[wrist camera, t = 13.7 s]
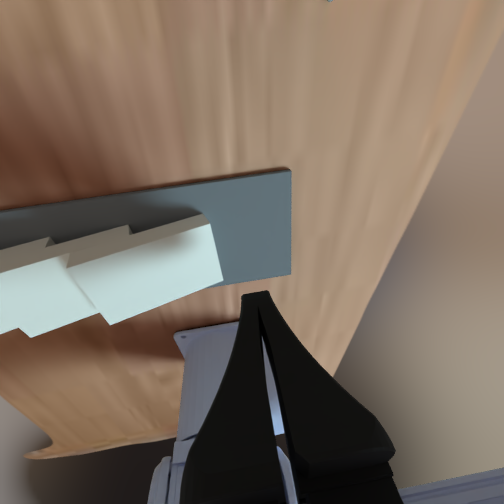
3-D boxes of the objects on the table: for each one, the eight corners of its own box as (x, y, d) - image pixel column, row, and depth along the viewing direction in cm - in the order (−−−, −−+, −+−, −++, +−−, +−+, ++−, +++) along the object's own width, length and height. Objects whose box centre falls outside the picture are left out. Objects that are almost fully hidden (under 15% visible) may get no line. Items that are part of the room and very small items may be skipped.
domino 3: (210, 223, 15) (66, 268, 12) (223, 280, 18) (110, 325, 15) (202, 213, 16) (70, 252, 13) (216, 268, 19) (110, 308, 16)
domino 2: (129, 235, 14) (-34, 283, 12) (156, 291, 17) (30, 337, 15) (128, 224, 16) (-21, 265, 13) (154, 278, 19) (36, 319, 16)
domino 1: (44, 248, 14) (-139, 300, 12) (87, 302, 17) (-52, 352, 15) (49, 236, 15) (-116, 281, 13) (88, 289, 18) (-39, 333, 16)
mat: (289, 169, 15) (291, 171, 15) (289, 271, 21) (290, 274, 20) (-150, 232, 14) (-158, 235, 14) (-27, 322, 19) (-31, 326, 19)
